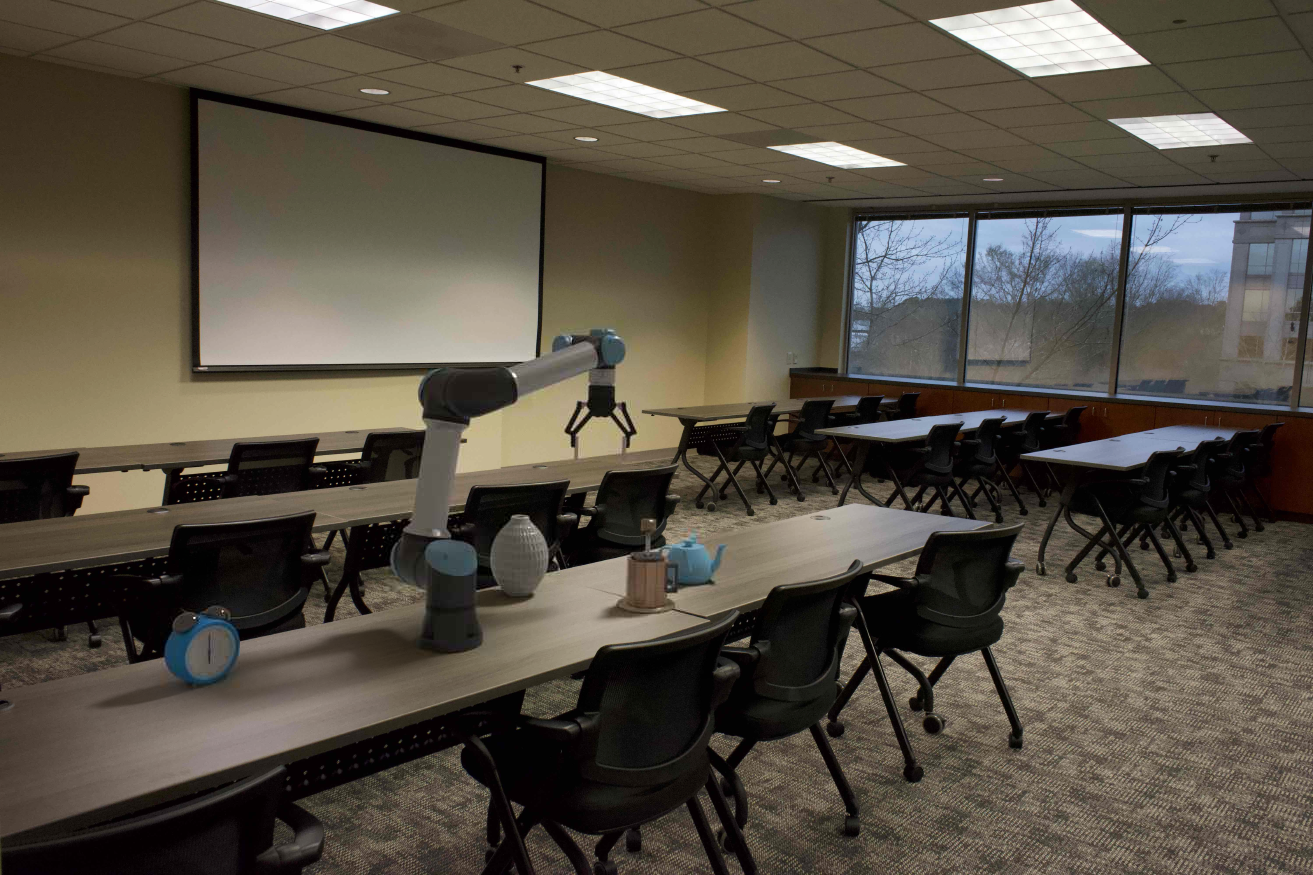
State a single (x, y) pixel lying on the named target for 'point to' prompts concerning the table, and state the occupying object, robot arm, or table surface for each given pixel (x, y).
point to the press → (648, 584)
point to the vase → (519, 557)
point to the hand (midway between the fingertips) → (600, 459)
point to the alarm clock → (202, 646)
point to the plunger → (648, 532)
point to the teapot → (692, 561)
